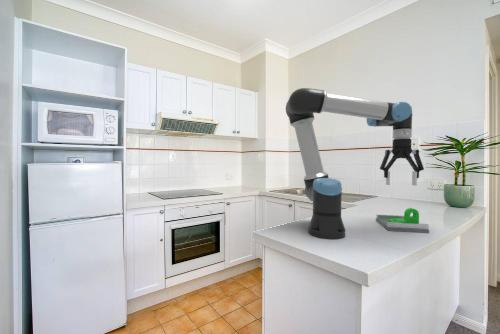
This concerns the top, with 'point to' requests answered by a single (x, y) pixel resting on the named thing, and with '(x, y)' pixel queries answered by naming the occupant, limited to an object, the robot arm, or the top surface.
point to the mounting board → (384, 224)
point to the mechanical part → (408, 217)
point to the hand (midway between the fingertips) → (400, 185)
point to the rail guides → (401, 225)
